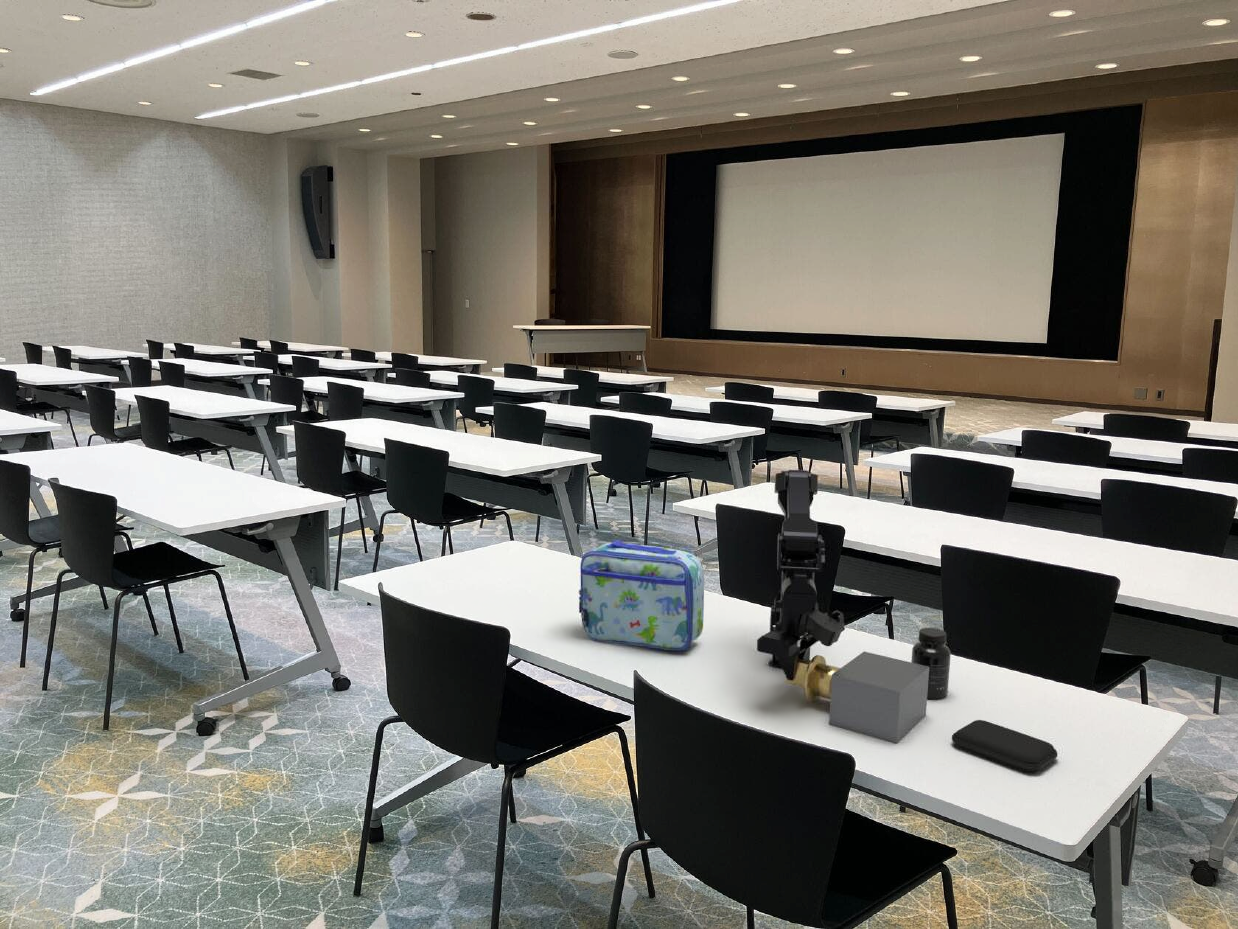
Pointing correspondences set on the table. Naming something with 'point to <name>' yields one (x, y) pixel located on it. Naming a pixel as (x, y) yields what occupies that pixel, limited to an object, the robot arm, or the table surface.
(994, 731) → the carrying case or bag
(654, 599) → the lunch box
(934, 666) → the supplement bottle
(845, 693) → the block
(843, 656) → the table surface
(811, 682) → the end cover
